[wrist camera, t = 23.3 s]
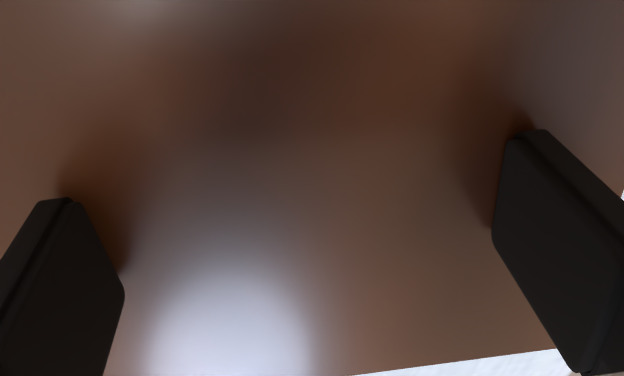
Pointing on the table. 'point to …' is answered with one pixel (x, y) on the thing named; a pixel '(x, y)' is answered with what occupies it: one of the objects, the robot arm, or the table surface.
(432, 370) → the table surface
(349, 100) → the chest lid
